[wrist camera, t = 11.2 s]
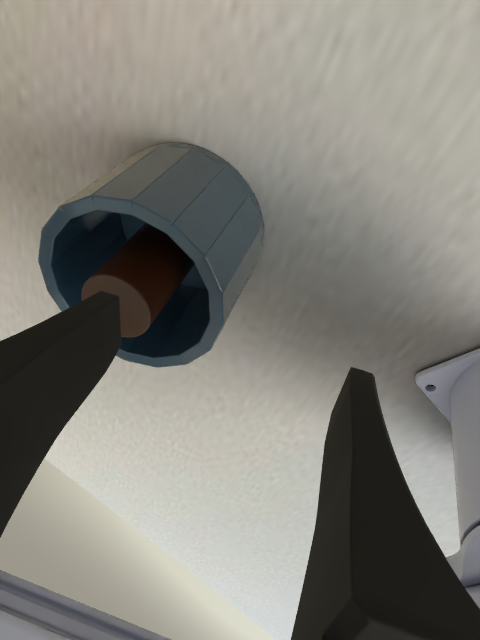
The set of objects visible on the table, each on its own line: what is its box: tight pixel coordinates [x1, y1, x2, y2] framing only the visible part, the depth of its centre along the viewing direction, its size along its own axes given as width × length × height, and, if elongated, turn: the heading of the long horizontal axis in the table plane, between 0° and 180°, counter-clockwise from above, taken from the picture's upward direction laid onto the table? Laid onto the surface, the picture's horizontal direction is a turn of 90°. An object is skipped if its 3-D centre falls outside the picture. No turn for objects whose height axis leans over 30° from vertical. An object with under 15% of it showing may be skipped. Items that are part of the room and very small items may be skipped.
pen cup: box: [38, 143, 264, 367], centre depth 21 cm, size 8×8×6 cm
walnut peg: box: [82, 223, 194, 337], centre depth 21 cm, size 3×3×7 cm
